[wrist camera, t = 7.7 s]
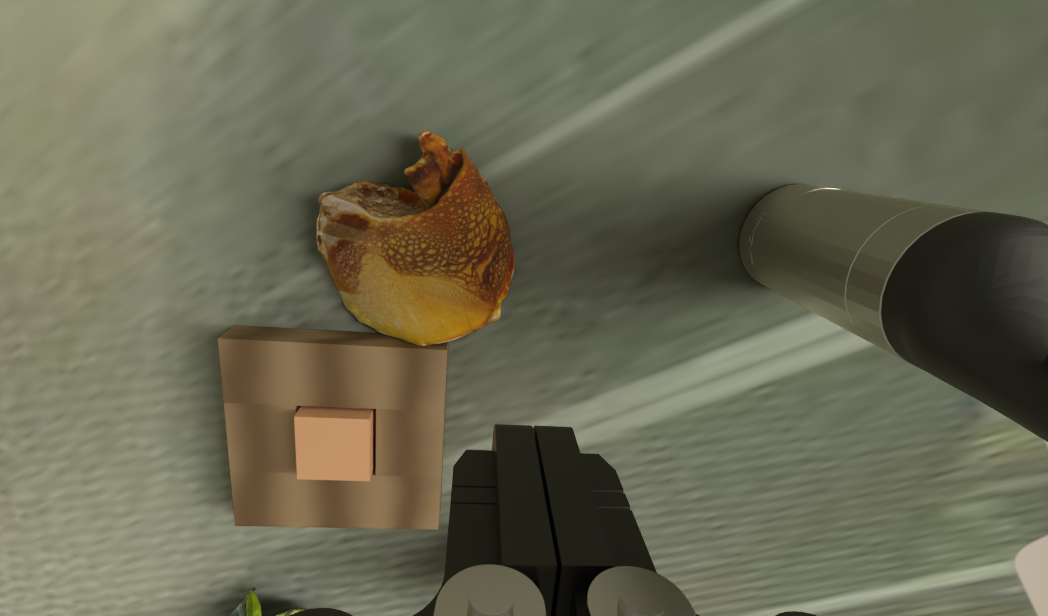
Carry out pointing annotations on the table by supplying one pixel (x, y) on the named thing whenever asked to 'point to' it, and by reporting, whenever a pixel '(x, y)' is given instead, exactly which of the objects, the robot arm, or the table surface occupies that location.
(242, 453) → the button plate
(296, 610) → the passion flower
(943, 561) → the table surface
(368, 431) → the push button
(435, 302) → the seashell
